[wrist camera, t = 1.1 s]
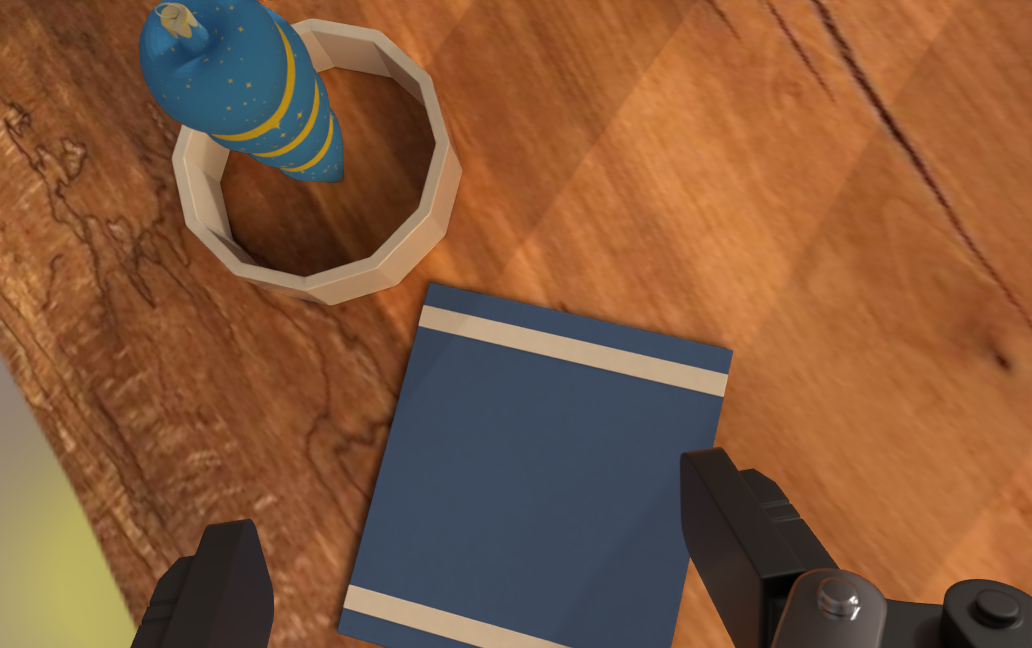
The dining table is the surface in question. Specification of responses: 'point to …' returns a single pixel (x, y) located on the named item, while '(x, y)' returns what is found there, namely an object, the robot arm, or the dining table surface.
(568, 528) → the cloth
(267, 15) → the ornament
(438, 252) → the dining table surface
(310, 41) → the faceted beige ring
